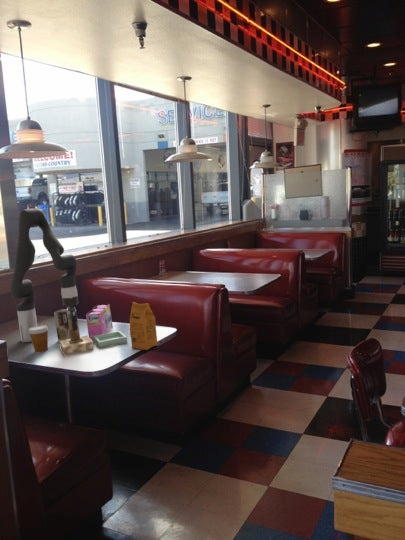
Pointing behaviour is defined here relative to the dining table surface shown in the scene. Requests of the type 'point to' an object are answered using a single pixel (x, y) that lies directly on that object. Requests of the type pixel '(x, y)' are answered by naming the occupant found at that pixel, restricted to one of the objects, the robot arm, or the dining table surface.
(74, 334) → the pin
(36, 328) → the disposable coffee cup
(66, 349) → the wooden square frame
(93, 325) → the gum box
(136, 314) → the coffee package
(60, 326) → the coffee box
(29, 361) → the dining table surface
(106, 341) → the tray
